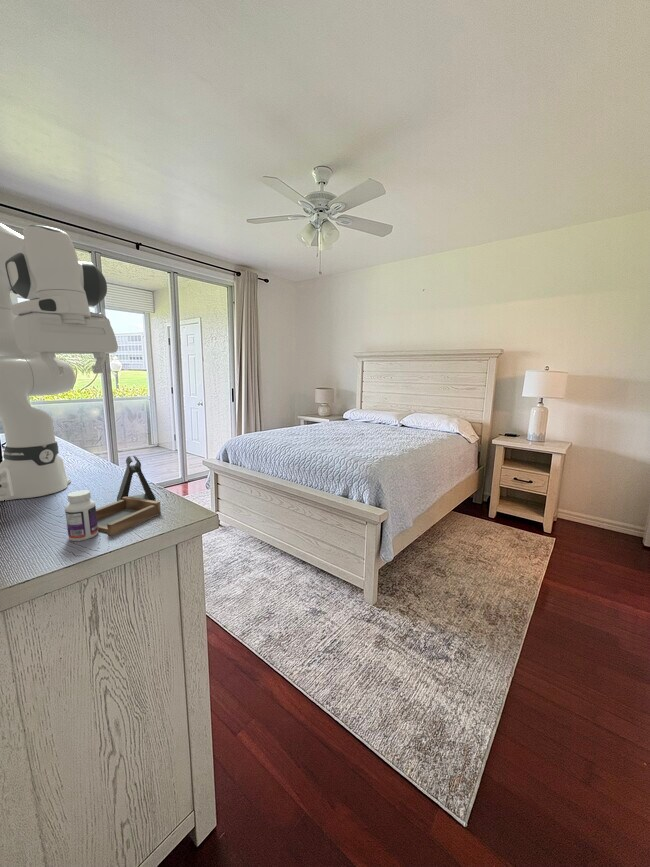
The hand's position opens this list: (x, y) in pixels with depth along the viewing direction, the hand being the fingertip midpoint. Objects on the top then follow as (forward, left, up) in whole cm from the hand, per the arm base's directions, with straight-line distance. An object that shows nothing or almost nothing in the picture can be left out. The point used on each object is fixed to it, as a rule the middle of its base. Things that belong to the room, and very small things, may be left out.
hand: (80, 374), depth 78 cm
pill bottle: (+4, -6, -35) cm, 35 cm away
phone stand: (-4, +15, -35) cm, 38 cm away
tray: (+4, +3, -35) cm, 35 cm away
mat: (+4, +3, -35) cm, 35 cm away
